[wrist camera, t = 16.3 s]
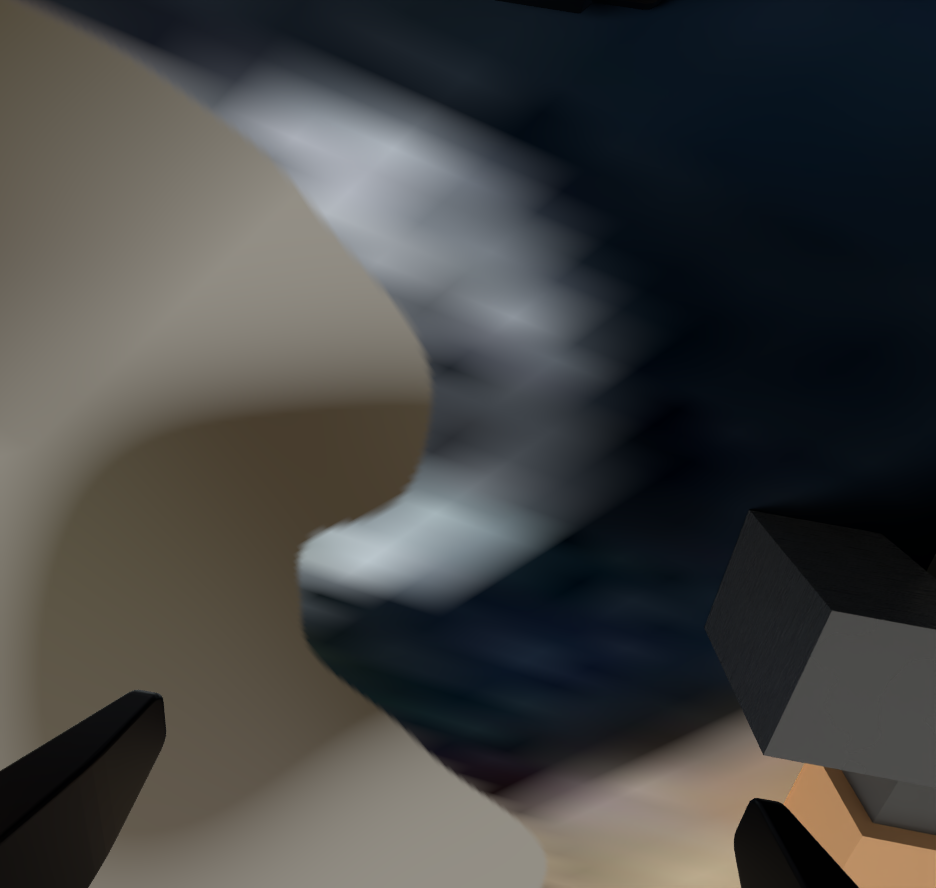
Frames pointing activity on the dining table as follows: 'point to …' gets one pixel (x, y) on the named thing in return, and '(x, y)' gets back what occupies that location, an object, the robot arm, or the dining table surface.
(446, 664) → the dining table surface
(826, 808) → the plug
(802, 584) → the housing
